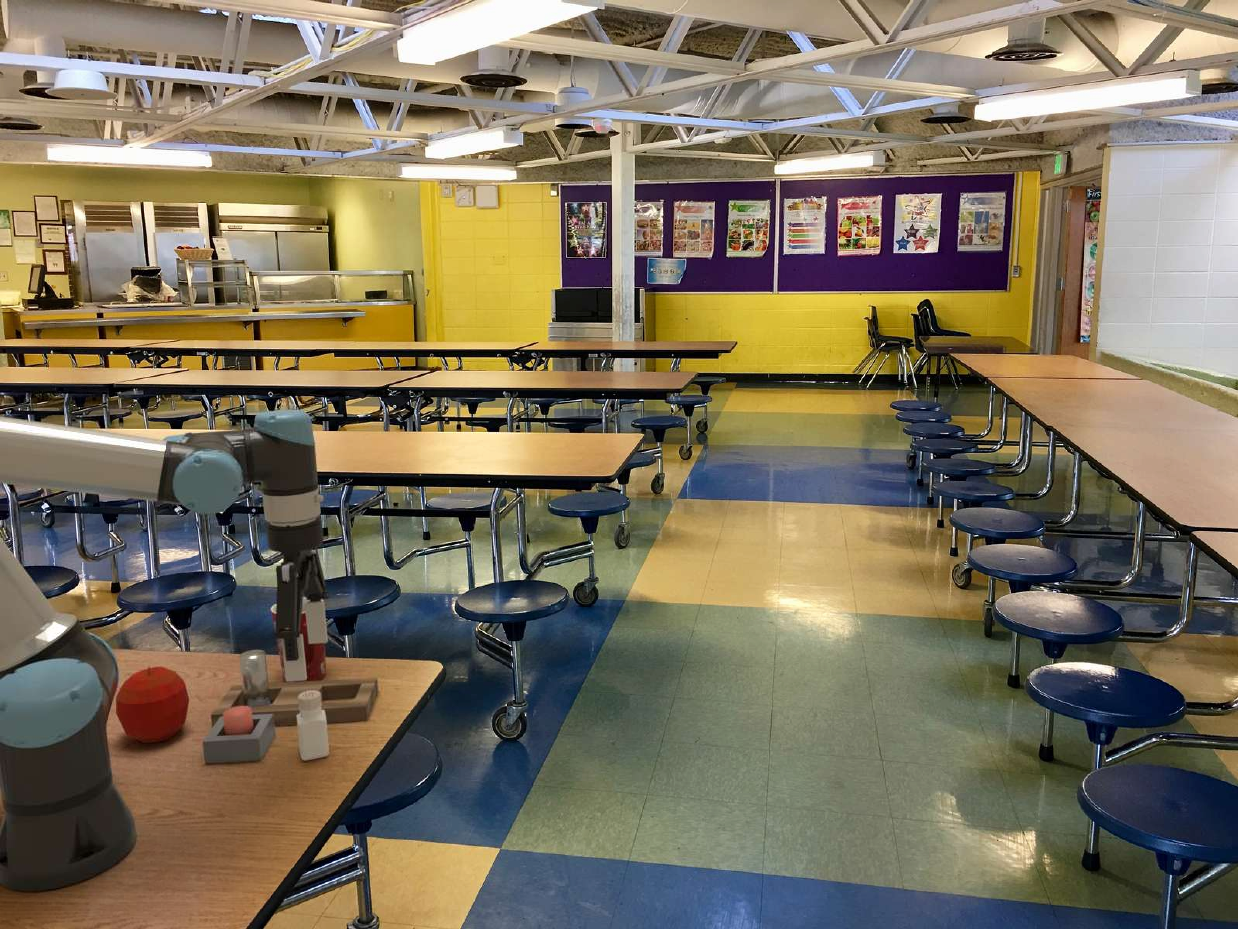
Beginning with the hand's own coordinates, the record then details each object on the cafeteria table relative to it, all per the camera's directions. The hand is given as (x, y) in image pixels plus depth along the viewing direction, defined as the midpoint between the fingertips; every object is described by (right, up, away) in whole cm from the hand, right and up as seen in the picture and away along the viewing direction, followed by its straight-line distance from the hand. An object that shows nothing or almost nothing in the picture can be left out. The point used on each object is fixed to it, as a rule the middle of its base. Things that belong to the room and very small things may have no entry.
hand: (307, 660), depth 138 cm
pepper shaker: (0, -15, +3) cm, 15 cm away
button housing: (-12, -14, +5) cm, 19 cm away
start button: (-12, -13, +5) cm, 18 cm away
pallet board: (-7, -12, +17) cm, 22 cm away
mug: (-9, -10, +29) cm, 32 cm away
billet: (-14, -12, +17) cm, 25 cm away
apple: (-27, -14, +10) cm, 32 cm away
